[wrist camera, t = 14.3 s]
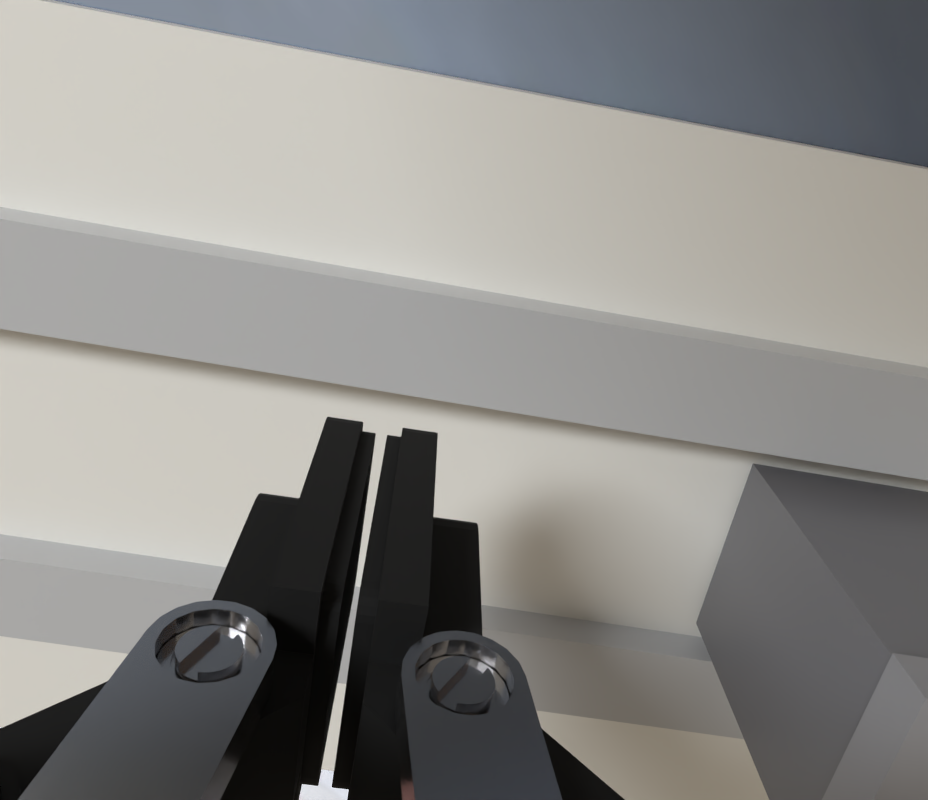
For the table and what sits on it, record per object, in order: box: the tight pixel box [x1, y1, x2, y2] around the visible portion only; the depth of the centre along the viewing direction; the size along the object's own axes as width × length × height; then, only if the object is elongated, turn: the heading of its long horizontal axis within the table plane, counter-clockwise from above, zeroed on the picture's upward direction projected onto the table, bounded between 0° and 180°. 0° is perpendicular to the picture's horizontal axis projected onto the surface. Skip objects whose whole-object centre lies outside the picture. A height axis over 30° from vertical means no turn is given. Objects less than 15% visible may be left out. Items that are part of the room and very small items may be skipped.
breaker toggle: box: [696, 463, 928, 800], centre depth 14 cm, size 5×5×7 cm
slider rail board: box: [0, 0, 928, 800], centre depth 18 cm, size 16×28×4 cm, turn 80°
